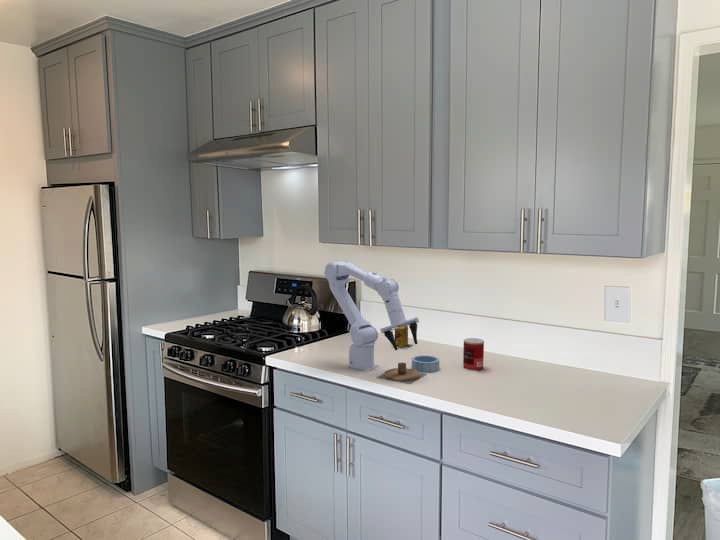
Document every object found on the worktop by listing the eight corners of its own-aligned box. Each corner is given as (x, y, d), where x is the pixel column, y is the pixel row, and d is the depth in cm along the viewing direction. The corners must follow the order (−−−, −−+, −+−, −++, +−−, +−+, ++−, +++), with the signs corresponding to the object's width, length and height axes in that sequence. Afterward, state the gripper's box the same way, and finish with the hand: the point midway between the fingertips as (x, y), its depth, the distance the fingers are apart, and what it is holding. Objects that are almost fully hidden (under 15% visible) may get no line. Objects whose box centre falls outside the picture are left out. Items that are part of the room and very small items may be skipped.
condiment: (391, 347, 245) (391, 321, 244) (398, 343, 252) (398, 317, 251) (406, 349, 242) (406, 322, 240) (413, 345, 249) (413, 319, 248)
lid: (377, 377, 200) (377, 365, 199) (394, 368, 211) (394, 357, 210) (409, 383, 193) (409, 370, 192) (425, 374, 204) (425, 362, 203)
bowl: (407, 370, 210) (407, 360, 209) (419, 363, 219) (419, 354, 218) (431, 374, 204) (432, 364, 204) (443, 367, 213) (443, 357, 213)
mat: (375, 378, 200) (375, 377, 200) (394, 369, 211) (394, 368, 211) (410, 385, 192) (410, 384, 192) (427, 375, 204) (427, 374, 204)
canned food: (483, 365, 216) (484, 338, 215) (482, 371, 208) (483, 343, 207) (464, 364, 218) (464, 337, 217) (462, 370, 210) (462, 342, 209)
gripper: (374, 317, 200) (385, 353, 198) (412, 305, 197) (423, 342, 195) (378, 317, 206) (389, 352, 205) (414, 305, 204) (426, 340, 202)
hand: (406, 347), depth 200 cm, fingers open, 7 cm apart
